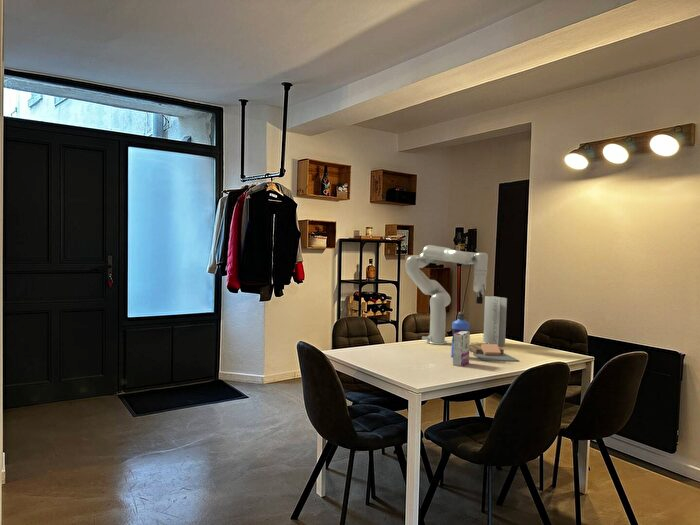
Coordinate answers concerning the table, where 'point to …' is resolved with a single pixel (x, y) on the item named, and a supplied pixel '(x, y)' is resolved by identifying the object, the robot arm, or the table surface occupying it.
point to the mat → (495, 357)
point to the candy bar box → (461, 348)
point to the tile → (490, 349)
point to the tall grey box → (495, 320)
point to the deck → (479, 349)
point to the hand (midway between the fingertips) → (479, 303)
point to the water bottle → (459, 327)
